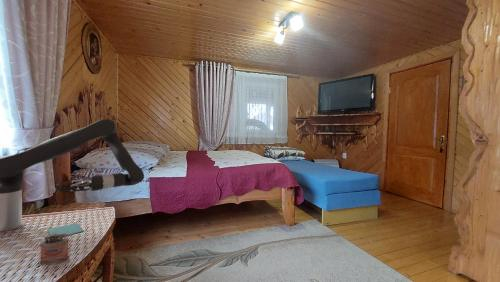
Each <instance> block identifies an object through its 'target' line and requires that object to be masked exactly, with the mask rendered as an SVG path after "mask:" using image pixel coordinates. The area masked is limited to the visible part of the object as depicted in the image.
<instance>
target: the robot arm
mask: <svg viewBox="0 0 500 282" xmlns="http://www.w3.org/2000/svg"><path fill="white" fill-rule="evenodd" d="M117 132H118V131H117V127H116V124H115V122H114V121H113V120H112V119H110V118H101V119H99V120H97V121H95V122H93V123H91V124H88V125H87V126H84V127H81V128H79V129H76V130H72V131H70V132H66V133H63V134H61V135H58V136H55V137H52V138H50V139H48V140H45V141H43V142H41V143H39V144H37V145H35V146H33V147H31V148H29V149H26V150H23V151H21V152H17V153H14V154H11V155H3V156H1V157H0V232H7V231H8V232H9V231H11V230H14V229H17V228H19V227H22V225H23V222H22V221H23V200H22V198H23V197H22V196H23V195H22V194H23V193H22V191H23V188H22V187H23V181H24V171H25V170H27V169H30V168H31V167H33V166H35V165H38V164H41V163H44V162H47V161H49V160H53V159H56V158H58V157H61V156H64V155H67V154H69V153H71V152H74V151H75V150H77V149H79V148H80V147H82V146H83V145H85V144H86V143H88V142H89V141H91V140H95V139H97V138H100V137H101V138H102V140H103V141H105V142H106V144H107V145H108V146H109V148H110V149H111V150H110V151H111V152H112V153H113V156H114V157H115V160H116V161H117V163H118V164H119V166H120V168H121V169H122V170H123V171H126V172H127V173H120V172H119V173H105V174H96V175H91V176H89V178H88V180H86V179H82V178H80V179H76V180H75V179H74V180H71V181H72V185H69V186H61V187H59V186H58V184H59V183H57V184H56V185H55V186H56V187H55V188H56V190H59V192H63V191H73V192H75V193H76V192H81V191H91V192H95V191H102V190H107V189H111V188H118V187H122V186H123V187H124V186H125V187H127V186H135V185H137V184H139V183H141V182H143V181H144V179H145V173H144V171H143V170H142V168H140V166H139V165H138V164H137V163H135V161H134V159H133V158H132V157H133V156H131V154H130V152H129V151H128V150H127V148H126V147H125V146H124V145H123V143H122V142H121V140H120V138H119V136H118V133H117Z"/></svg>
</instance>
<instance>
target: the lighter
mask: <svg viewBox="0 0 500 282" xmlns="http://www.w3.org/2000/svg"><path fill="white" fill-rule="evenodd" d="M67 237H68V236H67V234H66V233H63V234H58V235H57V234H52V235H50V234H48V235H45V236H44V240H43V241H41V242H40V243H39V246H40V260H39V265H40V264H41V266H44V265H43V264H46V265H53V264H54V263H55V264H59V263H64V262H66V261H68V260H69V258H70V256H69V241H70V239H69V238H67ZM46 265H45V266H46Z"/></svg>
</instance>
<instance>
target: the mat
mask: <svg viewBox="0 0 500 282" xmlns="http://www.w3.org/2000/svg"><path fill="white" fill-rule="evenodd" d="M46 231H47V233H48V235H52V234H57V235H58V234H63V233H66V234H67V236H66V237H68V236H72V235H75V234H79V233H84V231H85V230H84V229H83V228H82V227H81V225H80V224H79V223H78V222H73V223H69V224H64V225H61V226H57V227H53V228H49V229H47V230H46Z"/></svg>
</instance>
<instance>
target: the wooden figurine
mask: <svg viewBox="0 0 500 282" xmlns="http://www.w3.org/2000/svg"><path fill="white" fill-rule="evenodd" d="M72 181H73V180H71V179H69V175H68V174H66V172H64V173H63V172H62V173H61V180H59V182H58V183H57V184H58V186H59V187H61V186H69V185H73V184H72ZM75 198H76V191H75V192H73V191H63V192H59V189H57V190H56V192H55V201H56V203H57V205H58V206H61V207H64V206H68V205H71V204H72V203H73V202H74V200H75Z"/></svg>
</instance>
